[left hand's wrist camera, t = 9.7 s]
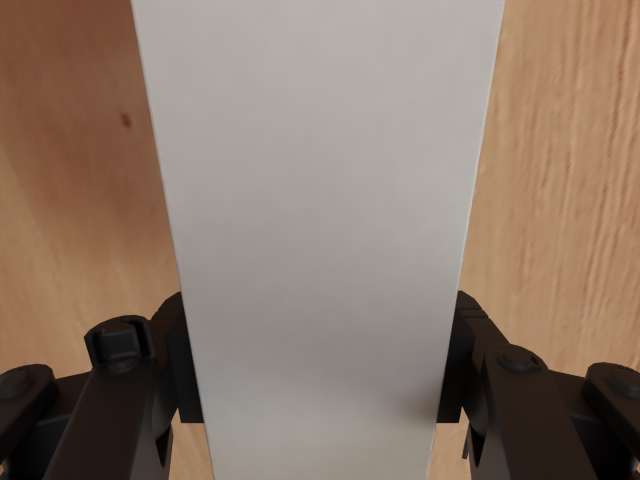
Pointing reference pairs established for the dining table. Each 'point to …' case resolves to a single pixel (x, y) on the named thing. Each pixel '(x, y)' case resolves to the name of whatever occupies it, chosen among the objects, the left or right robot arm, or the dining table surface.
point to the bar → (318, 217)
